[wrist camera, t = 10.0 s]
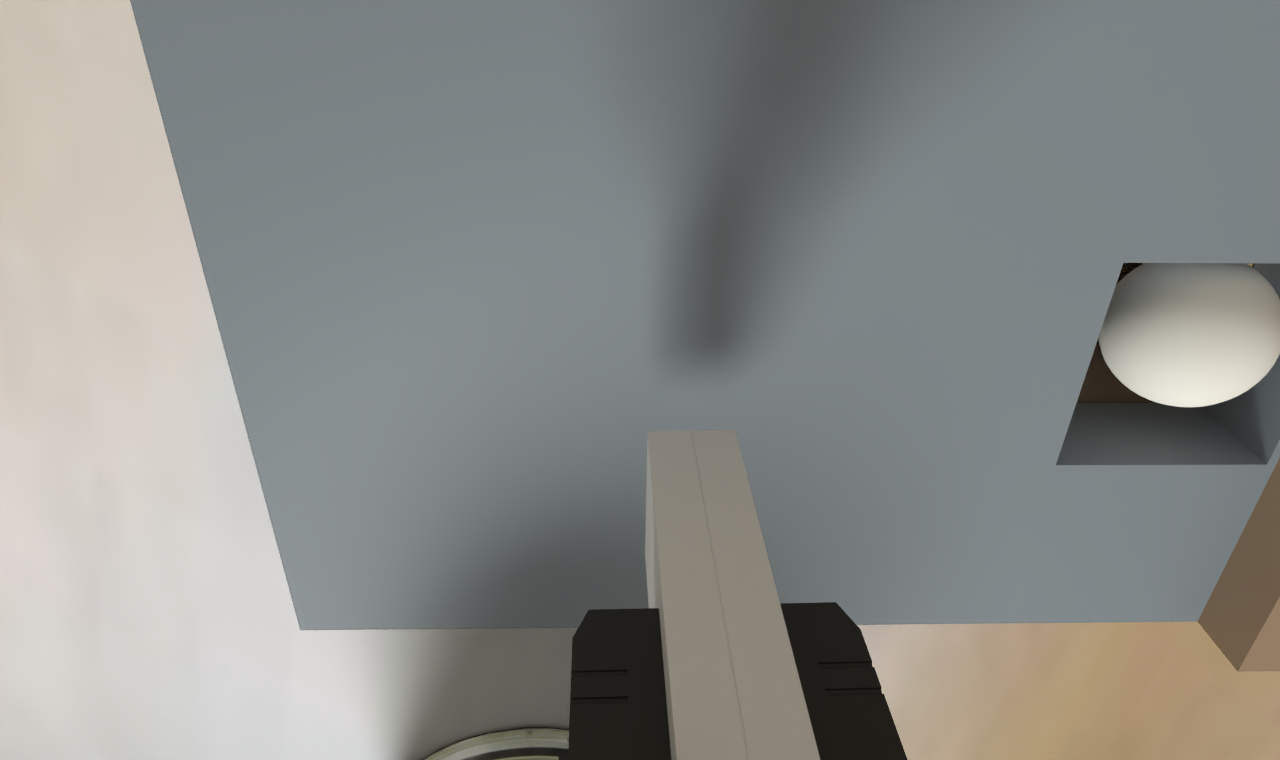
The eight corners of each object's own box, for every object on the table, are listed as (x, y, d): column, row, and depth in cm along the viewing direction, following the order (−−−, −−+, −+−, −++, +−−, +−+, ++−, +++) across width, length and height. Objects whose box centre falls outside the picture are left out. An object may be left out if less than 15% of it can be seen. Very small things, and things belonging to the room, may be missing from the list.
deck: (331, 556, 22) (278, 682, 18) (193, -49, 14) (62, -30, 11) (1304, 549, 22) (1429, 669, 19) (1624, -25, 15) (1917, 0, 12)
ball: (1238, 457, 16) (1263, 390, 18) (1302, 305, 14) (1321, 250, 16) (1062, 402, 18) (1103, 346, 20) (1102, 261, 16) (1143, 218, 18)
